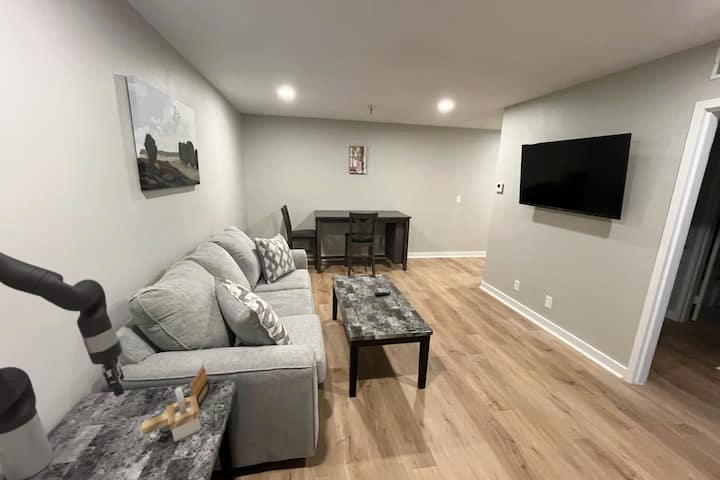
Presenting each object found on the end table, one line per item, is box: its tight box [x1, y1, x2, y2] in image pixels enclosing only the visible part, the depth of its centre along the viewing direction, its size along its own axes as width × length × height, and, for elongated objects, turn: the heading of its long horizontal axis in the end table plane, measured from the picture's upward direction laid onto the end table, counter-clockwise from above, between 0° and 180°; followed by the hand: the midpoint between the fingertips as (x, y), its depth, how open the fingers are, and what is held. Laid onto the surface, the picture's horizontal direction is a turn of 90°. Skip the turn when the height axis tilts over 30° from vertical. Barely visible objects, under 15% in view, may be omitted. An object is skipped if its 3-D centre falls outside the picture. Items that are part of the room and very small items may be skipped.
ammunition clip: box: [189, 365, 211, 409], centre depth 115 cm, size 11×2×12 cm, turn 2°
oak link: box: [141, 395, 201, 436], centre depth 101 cm, size 16×9×2 cm, turn 125°
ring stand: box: [171, 386, 202, 443], centre depth 103 cm, size 8×8×16 cm
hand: (120, 387), depth 96 cm, fingers open, 8 cm apart
